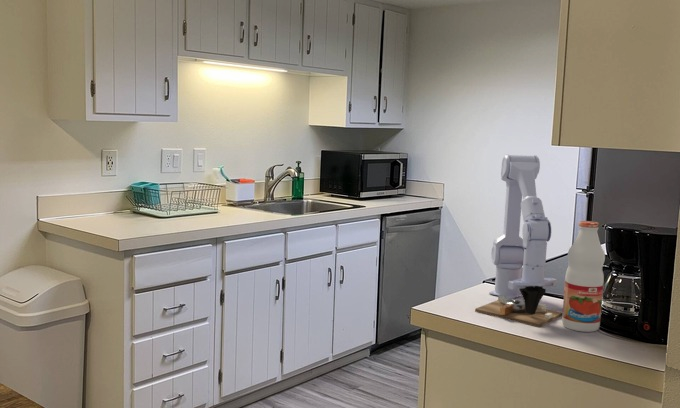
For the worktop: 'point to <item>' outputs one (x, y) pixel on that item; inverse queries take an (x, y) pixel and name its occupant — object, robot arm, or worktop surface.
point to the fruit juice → (584, 280)
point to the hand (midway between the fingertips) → (530, 313)
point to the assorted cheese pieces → (515, 305)
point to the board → (519, 314)
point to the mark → (548, 315)
